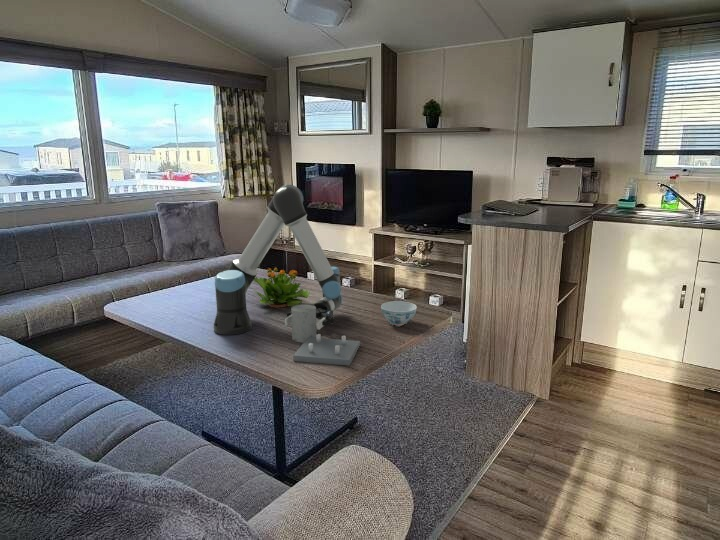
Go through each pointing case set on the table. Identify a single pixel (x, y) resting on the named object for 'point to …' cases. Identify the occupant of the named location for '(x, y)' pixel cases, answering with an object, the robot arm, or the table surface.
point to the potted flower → (280, 289)
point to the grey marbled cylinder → (303, 322)
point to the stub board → (327, 350)
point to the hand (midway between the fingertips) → (301, 324)
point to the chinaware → (398, 311)
